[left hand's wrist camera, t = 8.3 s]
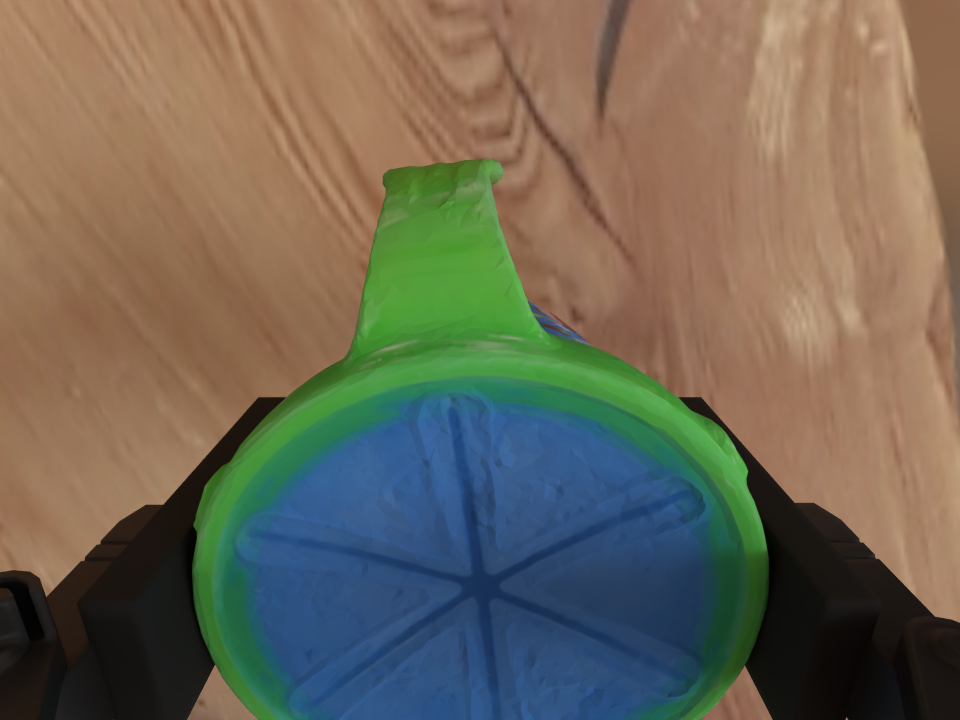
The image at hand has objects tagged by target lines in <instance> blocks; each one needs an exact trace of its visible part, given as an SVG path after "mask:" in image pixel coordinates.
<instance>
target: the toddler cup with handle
mask: <svg viewBox="0 0 960 720" xmlns="http://www.w3.org/2000/svg"><path fill="white" fill-rule="evenodd" d="M502 175H503V168H502V166H501V164H500V163H498V162H497V161H495V160H490V159H486V158H484V159H479V160H464V161H460V162H456V163H436V164H432V165H428V166H424V167H414V166H411V167H403V168H397V169H391V170H388V171H387V172H386V173H385V174H384V175H383V185H384V187H385V188H386V195H385V199H384V203H383V207H382V211H381V214H380V217H379V219H378V224H377V228H376V231H375V234H374V240H373V245H372V250H371V254H370V259H369V265H368V270H367V274H366V279H365V283H364V288H363V294H362V299H361V305H360V310H359V316H358V321H357V327H356V332H355V336H354V338H353V341H352V344H351V348H350V350H349V352H348V354H347V355H346V356H345V358H344V359H342V360H341V361H339V362H337V363H335V364H333V365H331V366H329V367H328V368H326V369H324V370H323V371H321V372H320V373H318V374H317V375H315V376H314V377H312V378H311V379H309V380H308V381H307V382H305V383H304V384H303V385H301V386H300V387H299V388H297V389H296V390H295V391H293V392H292V393H291V394H290V395H289V396H288V397H287V398H285V399H284V400H283V401H282V402H281V403H280V404H279V405H278V406H277V407H276V408H274V409H273V410H272V411H271V412H270V413H269V414H268V415H267V416H266V417H265V418H264V419H263V420H262V421H261V422H260V423H259V425H258V426H257V427H256V428H255V429H254V430H253V431H252V432H251V433H250V435H249V436H248V437H247V438H246V439H245V440H244V441H243V443H242V444H241V445H240V447H239V448H238V450H237V452H236V453H235V455H234V457H233V458H232V460H231V461H230V462H229V463H227V464H225V465H223V466H222V467H221V468H220V469H219V470H218V471H217V472H216V473H215V474H214V475H213V476H212V477H211V479H210V480H209V481H208V483H207V484H206V485H205V487H204V491H203V494H202V498H201V501H200V503H199V507H198V510H197V514H196V520H195V522H194V528H195V530H196V531H197V541H196V547H195V552H194V558H193V563H192V585H193V599H194V609H195V613H196V616H197V620H198V623H199V626H200V632H201V635H202V637H203V639H204V641H205V643H206V646H207V648H208V650H209V653H210V655H211V657H212V659H213V661H214V663H215V665H216V666H217V668H218V670H219V672H220V674H221V676H222V677H223V679H224V680H225V682H226V683H227V684H228V686H229V687H230V688H231V690H232V691H233V692H234V693H235V695H236V696H237V697H238V698H239V699H240V701H241V702H242V703H243V704H244V705H245V706H246V708H247V709H248V710H249V711H250V712H251V713H252V714H253V715H254V716H255V717H256V718H258V719H259V720H700V719H701V718H702V717H703V716H704V715H705V714H707V713H708V712H709V711H710V710H711V709H712V708H713V707H714V706H715V705H716V704H717V702H718V701H719V700H720V699H721V698H722V696H723V695H724V694H725V693H726V691H727V690H728V688H729V687H730V686H731V685H732V684H733V682H734V681H735V680H736V678H737V677H738V675H739V674H740V672H741V671H742V669H743V667H744V666H745V664H746V662H747V660H748V658H749V656H750V654H751V651H752V649H753V647H754V644H755V642H756V639H757V636H758V633H759V630H760V628H761V625H762V622H763V618H764V614H765V610H766V608H767V602H768V595H769V557H768V551H767V546H766V540H765V535H764V530H763V526H762V523H761V519H760V516H759V513H758V511H757V508H756V505H755V502H754V500H753V498H752V496H751V494H750V492H749V490H748V487H747V481H746V478H747V474H748V470H747V467H746V465H745V463H744V461H743V460H742V458H741V456H740V455H739V453H738V452H737V450H736V448H735V446H734V444H733V443H732V441H731V440H730V438H729V437H728V435H727V434H726V433H725V431H724V430H723V429H722V428H721V427H720V426H718V425H717V424H716V423H715V422H713V421H712V420H710V419H708V418H706V417H704V416H702V415H700V414H697V413H695V412H693V411H691V410H690V409H689V408H688V407H687V406H686V405H685V404H684V403H683V402H682V401H681V400H680V399H679V398H678V397H676V396H675V395H674V394H672V393H671V392H670V391H668V390H667V389H666V388H665V387H663V386H662V385H661V384H660V383H659V382H657V381H656V380H653V379H652V378H650V377H649V376H647V375H646V374H644V373H643V372H641V371H639V370H638V369H636V368H634V367H633V366H631V365H629V364H628V363H626V362H625V361H623V360H622V359H620V358H617V357H615V356H613V355H611V354H608V353H606V352H604V351H602V350H599V349H597V348H595V347H593V346H592V345H591V344H589V343H588V342H587V341H586V340H585V339H584V338H582V337H581V336H580V335H579V334H578V333H576V332H575V331H574V330H572V329H571V328H570V327H569V326H568V325H566V324H565V323H564V322H563V321H561V320H560V319H559V318H558V317H556V316H555V315H553V314H552V313H550V312H548V311H546V310H544V309H543V308H541V307H539V306H537V305H535V304H534V303H531V302H528V301H527V298H526V295H525V293H524V290H523V287H522V284H521V281H520V279H519V276H518V274H517V272H516V269H515V267H514V264H513V261H512V259H511V256H510V253H509V250H508V247H507V244H506V241H505V238H504V236H503V233H502V230H501V227H500V224H499V221H498V216H497V211H496V206H495V200H494V196H493V194H492V190H491V186H492V184H495V183H496V182H498V181H499V180H500V179H501V178H502Z"/></svg>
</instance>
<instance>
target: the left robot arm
mask: <svg viewBox="0 0 960 720" xmlns="http://www.w3.org/2000/svg"><path fill="white" fill-rule="evenodd" d="M285 398H287V397H258V399H257V400H256V401H255V402H254V403H253V404H252V405H251V406H250V408H249V409H248V410H247V411H246V412H245V413H244V414H243V415H242V417H241V418H240V419H239V420H238V421H237V422H236V423H235V424H234V426H233V427H232V428H231V429H230V430H229V431H228V432H227V434H226V435H225V436H224V437H223V438H222V439H221V440H220V441H219V443H218V444H217V445H216V446H215V447H214V448H213V449H212V450H211V452H210V453H209V454H208V455H207V456H206V457H205V458H204V459H203V461H202V462H201V463H200V464H199V465H198V466H197V467H196V469H195V470H194V471H193V472H192V473H191V474H190V475H189V476H188V478H187V479H186V480H185V481H184V482H183V483H182V484H181V485H180V487H179V488H178V489H177V490H176V491H175V492H174V493H173V495H172V496H171V497H170V498H169V499H168V500H167V501H166V502H165V504H164V505H145V506H143V507H142V508H140V509H139V510H137V511H135V512H134V513H132V514H131V515H129V516H127V517H126V518H124V519H122V520H121V521H119V522H118V523H117V524H116V525H115V527H114V528H113V529H112V530H111V531H110V532H109V533H108V534H107V535H106V536H105V537H104V538H103V539H102V540H101V544H100V545H96V546H95V547H94V548H93V549H92V550H91V551H90V552H89V553H88V555H87V556H86V557H85V561H81V562H80V563H79V564H78V565H77V566H76V567H75V568H74V569H73V570H72V571H71V572H70V573H69V574H68V575H67V576H66V577H65V578H64V579H63V580H62V582H61V583H60V584H59V585H58V586H57V587H56V588H55V589H54V590H53V591H52V592H51V593H50V594H49V595H48V596H47V597H46V595H45V592H44V589H43V587H42V584H41V581H40V578H39V577H37V576H36V575H34V574H33V573H31V572H27V571H16V570H12V571H6V572H0V720H113V719H114V720H187V718H188V716H189V714H190V712H191V710H192V709H193V707H194V705H195V703H196V701H197V699H198V697H199V695H200V693H201V691H202V689H203V687H204V685H205V683H206V681H207V679H208V677H209V675H210V673H211V671H212V669H213V668H214V666H215V663H214V661H213V659H212V657H211V655H210V653H209V650H208V648H207V646H206V643H205V641H204V639H203V637H202V635H201V632H200V626H199V623H198V620H197V616H196V613H195V609H194V599H193V585H192V563H193V558H194V552H195V547H196V541H197V531H196V530H195V528H194V522H195V520H196V514H197V510H198V507H199V503H200V501H201V498H202V494H203V491H204V487H205V485H206V484H207V483H208V481H209V480H210V479H211V477H212V476H213V475H214V474H215V473H216V472H217V471H218V470H219V469H220V468H221V467H222V466H223V465H225V464H227V463H229V462H230V461H231V460H232V458H233V457H234V455H235V453H236V452H237V450H238V448H239V447H240V445H241V444H242V443H243V441H244V440H245V439H246V438H247V437H248V436H249V435H250V433H251V432H252V431H253V430H254V429H255V428H256V427H257V426H258V425H259V423H260V422H261V421H262V420H263V419H264V418H265V417H266V416H267V415H268V414H269V413H270V412H271V411H272V410H273V409H274V408H276V407H277V406H278V405H279V404H280V403H281V402H282V401H283V400H284V399H285ZM678 398H679V399H680V400H681V401H682V402H683V403H684V404H685V405H686V406H687V407H688V408H689V409H690V410H691V411H693V412H695V413H697V414H700V415H702V416H704V417H706V418H708V419H710V420H712V421H713V422H715V423H716V424H717V425H718V426H720V427H721V428H722V429H723V430H724V431H725V433H726V434H727V435H728V437H729V438H730V440H731V441H732V443H733V444H734V446H735V448H736V450H737V452H738V453H739V455H740V456H741V458H742V460H743V461H744V463H745V465H746V467H747V470H748V474H747V478H746V481H747V487H748V490H749V492H750V494H751V496H752V498H753V500H754V502H755V505H756V508H757V511H758V513H759V516H760V519H761V523H762V526H763V530H764V535H765V540H766V546H767V551H768V557H769V595H768V602H767V608H766V610H765V614H764V618H763V622H762V625H761V628H760V630H759V633H758V636H757V639H756V642H755V644H754V647H753V649H752V651H751V654H750V656H749V658H748V660H747V662H746V664H745V666H746V668H747V670H748V672H749V674H750V676H751V678H752V680H753V682H754V684H755V686H756V688H757V690H758V692H759V694H760V696H761V698H762V699H763V701H764V703H765V705H766V707H767V709H768V711H769V713H770V715H771V717H772V719H773V720H846V717H847V718H848V720H960V623H959V622H956V621H954V620H950V619H945V618H939V617H935V616H934V615H933V614H932V613H931V612H930V611H929V610H928V609H927V608H926V607H925V606H924V605H923V604H922V603H921V602H920V601H919V600H918V599H917V598H916V597H915V596H914V595H913V594H912V593H911V592H910V590H909V589H908V588H907V587H906V586H905V585H904V584H903V583H902V582H901V581H900V580H899V579H898V578H897V577H896V576H895V575H894V574H893V573H892V572H891V571H890V570H889V569H888V568H887V567H886V566H885V565H884V564H883V563H882V562H881V561H880V560H879V559H876V558H875V554H874V553H873V552H872V551H871V550H870V549H869V548H868V547H867V546H866V545H865V544H864V543H860V541H859V538H858V537H857V536H856V535H855V534H854V533H853V532H852V531H851V530H850V529H849V528H848V527H847V526H846V524H845V523H844V522H843V521H842V520H841V519H839V518H837V517H836V516H834V515H833V514H831V513H829V512H828V511H826V510H825V509H823V508H821V507H820V506H818V505H816V504H815V503H794V502H793V501H792V499H791V498H790V497H789V496H788V495H787V494H786V493H785V492H784V490H783V489H782V488H781V487H780V486H779V485H778V484H777V483H776V481H775V480H774V479H773V478H772V477H771V476H770V475H769V473H768V472H767V471H766V470H765V469H764V468H763V467H762V466H761V464H760V463H759V462H758V461H757V460H756V459H755V458H754V457H753V455H752V454H751V453H750V452H749V451H748V450H747V449H746V448H745V446H744V445H743V444H742V443H741V442H740V441H739V440H738V438H737V437H736V436H735V435H734V434H733V433H732V432H731V431H730V429H729V428H728V427H727V426H726V425H725V424H724V423H723V422H722V420H721V419H720V418H719V417H718V416H717V415H716V414H715V412H714V411H713V410H712V409H711V408H710V407H709V406H708V405H707V403H706V402H705V401H704V400H703V399H702V398H701V397H678Z"/></svg>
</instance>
